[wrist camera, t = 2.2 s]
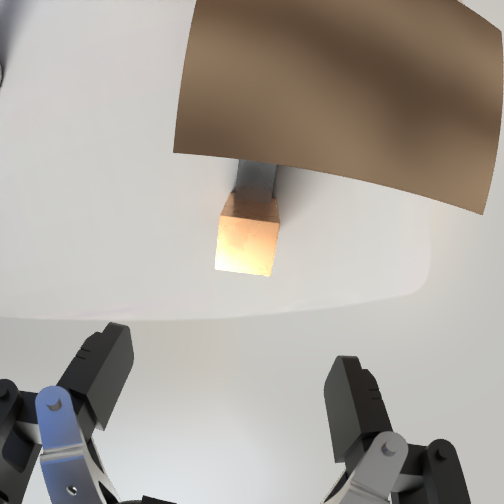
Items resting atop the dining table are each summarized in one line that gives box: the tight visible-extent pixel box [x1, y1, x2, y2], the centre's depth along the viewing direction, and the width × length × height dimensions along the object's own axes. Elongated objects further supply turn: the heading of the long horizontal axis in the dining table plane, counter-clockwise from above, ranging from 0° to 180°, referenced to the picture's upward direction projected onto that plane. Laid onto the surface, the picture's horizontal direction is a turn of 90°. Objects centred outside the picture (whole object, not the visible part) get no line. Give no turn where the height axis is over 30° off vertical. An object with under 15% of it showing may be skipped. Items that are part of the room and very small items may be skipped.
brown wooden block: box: [173, 0, 503, 215], centre depth 15 cm, size 11×15×14 cm
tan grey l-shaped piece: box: [215, 159, 280, 276], centre depth 21 cm, size 14×4×7 cm, turn 172°
